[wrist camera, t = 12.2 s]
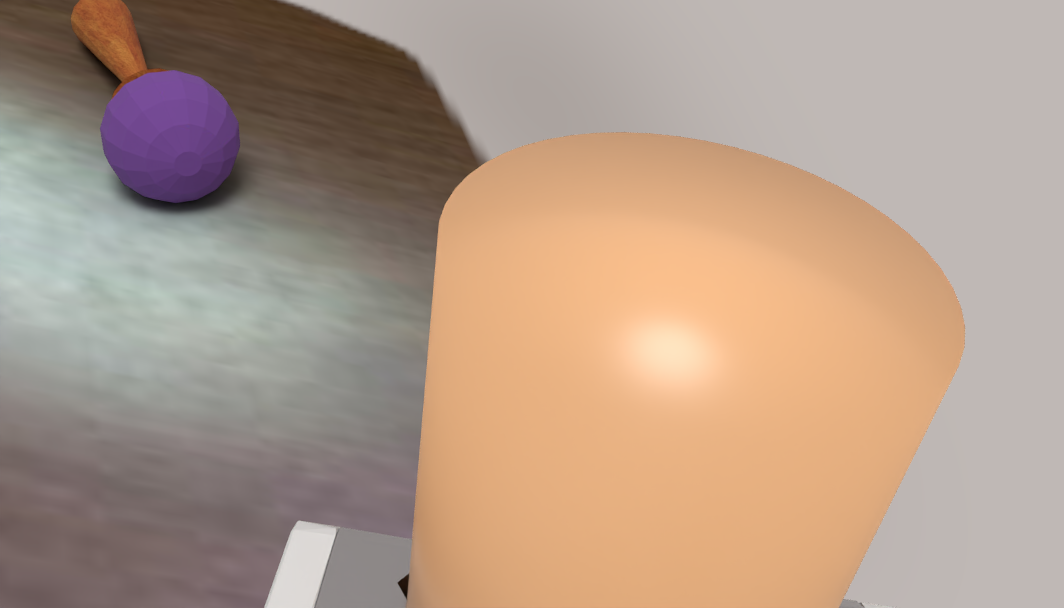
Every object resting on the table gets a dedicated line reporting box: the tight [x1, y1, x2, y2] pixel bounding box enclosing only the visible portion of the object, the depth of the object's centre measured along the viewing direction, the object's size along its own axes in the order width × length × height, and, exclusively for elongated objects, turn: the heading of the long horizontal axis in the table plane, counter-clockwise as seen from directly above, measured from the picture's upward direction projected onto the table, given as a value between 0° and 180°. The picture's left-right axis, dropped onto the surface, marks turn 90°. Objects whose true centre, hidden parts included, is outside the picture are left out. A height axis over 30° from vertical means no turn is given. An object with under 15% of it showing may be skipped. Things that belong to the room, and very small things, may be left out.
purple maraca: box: [71, 0, 240, 203], centre depth 51 cm, size 6×6×20 cm
